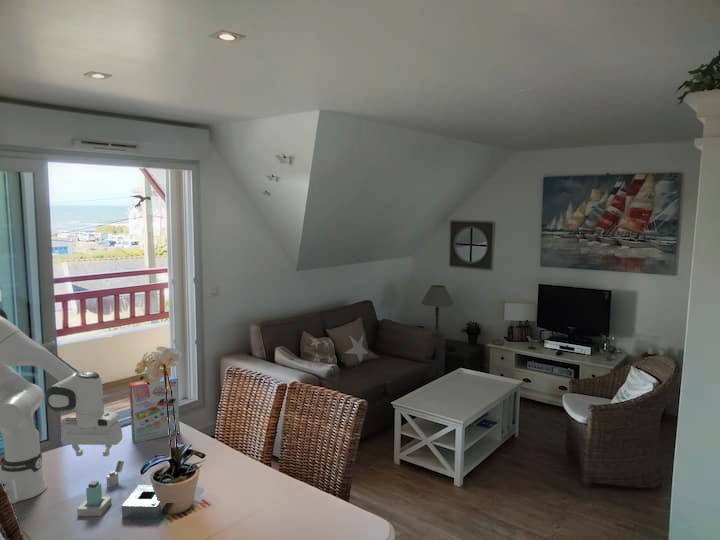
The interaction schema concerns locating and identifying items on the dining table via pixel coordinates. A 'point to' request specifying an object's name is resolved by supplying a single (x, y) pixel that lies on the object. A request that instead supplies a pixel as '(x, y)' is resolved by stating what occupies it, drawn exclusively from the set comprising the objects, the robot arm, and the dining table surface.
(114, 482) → the lighter
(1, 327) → the robot arm
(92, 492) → the plug
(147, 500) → the panel
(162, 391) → the game box
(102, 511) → the cream square frame
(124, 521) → the dining table surface
